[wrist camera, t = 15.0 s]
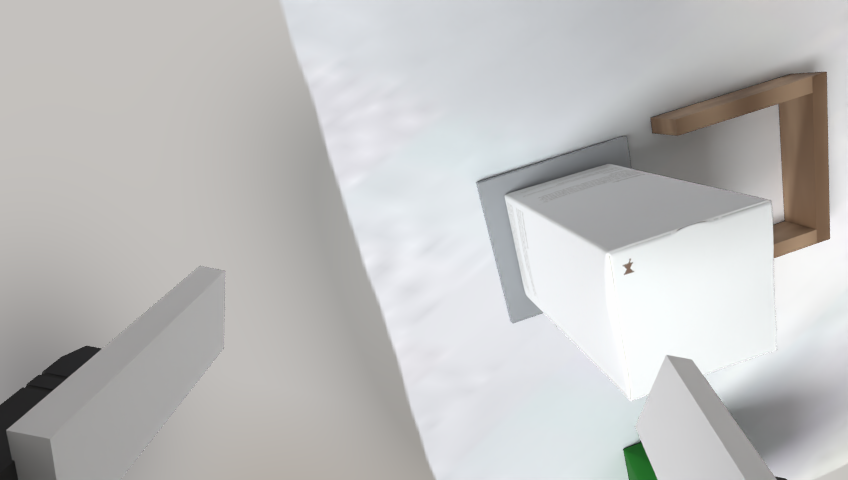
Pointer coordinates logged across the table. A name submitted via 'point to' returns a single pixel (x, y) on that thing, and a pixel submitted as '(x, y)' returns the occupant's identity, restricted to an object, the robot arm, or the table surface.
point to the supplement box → (648, 270)
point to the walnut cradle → (799, 147)
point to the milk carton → (638, 463)
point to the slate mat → (525, 177)
